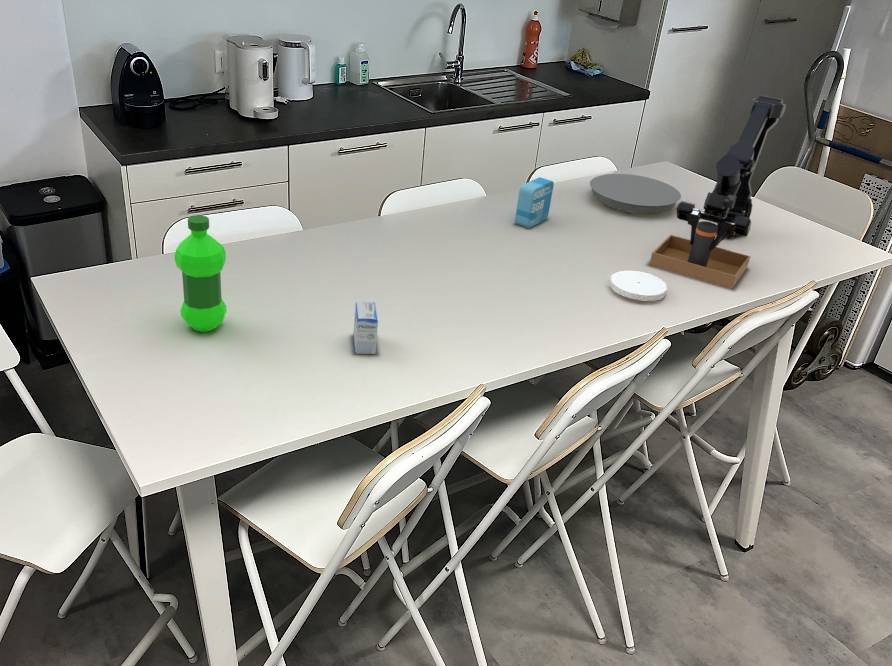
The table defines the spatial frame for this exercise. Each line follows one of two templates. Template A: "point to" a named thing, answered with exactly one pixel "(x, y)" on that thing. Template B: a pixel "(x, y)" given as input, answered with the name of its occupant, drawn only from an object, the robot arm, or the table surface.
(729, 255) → the brown wooden tray
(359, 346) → the medicine box
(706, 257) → the dark grey cylinder
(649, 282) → the plastic lid
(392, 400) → the table surface
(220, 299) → the plastic bottle
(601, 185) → the flat disc
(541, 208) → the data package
